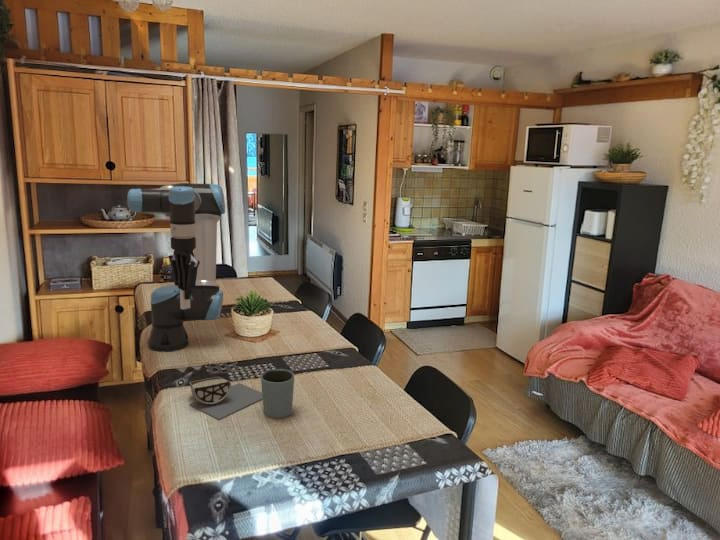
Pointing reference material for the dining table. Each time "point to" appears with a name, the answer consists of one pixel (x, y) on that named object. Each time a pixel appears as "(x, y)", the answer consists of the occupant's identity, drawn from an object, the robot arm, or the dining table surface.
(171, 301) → the robot arm
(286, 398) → the grey green cup
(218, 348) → the dining table surface
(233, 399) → the mat
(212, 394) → the food container
